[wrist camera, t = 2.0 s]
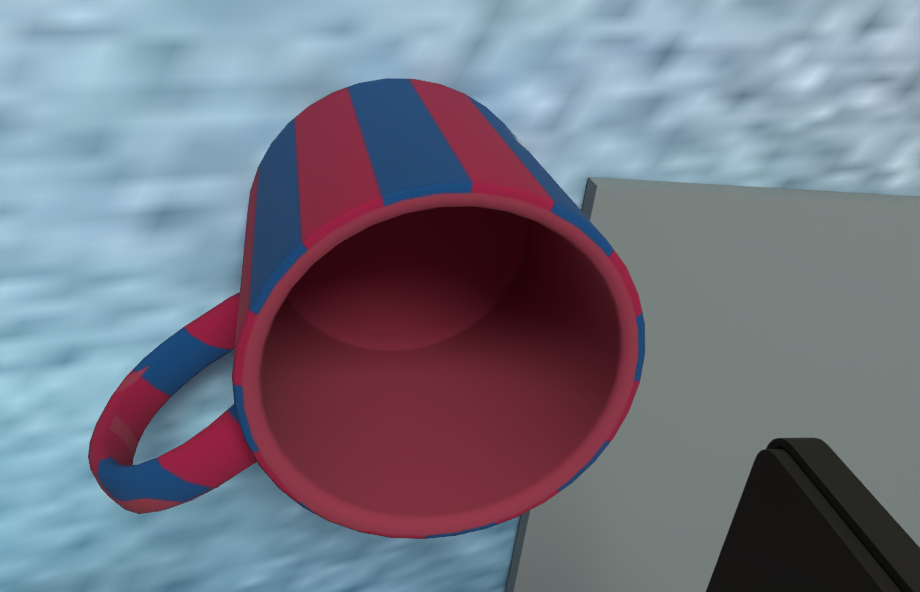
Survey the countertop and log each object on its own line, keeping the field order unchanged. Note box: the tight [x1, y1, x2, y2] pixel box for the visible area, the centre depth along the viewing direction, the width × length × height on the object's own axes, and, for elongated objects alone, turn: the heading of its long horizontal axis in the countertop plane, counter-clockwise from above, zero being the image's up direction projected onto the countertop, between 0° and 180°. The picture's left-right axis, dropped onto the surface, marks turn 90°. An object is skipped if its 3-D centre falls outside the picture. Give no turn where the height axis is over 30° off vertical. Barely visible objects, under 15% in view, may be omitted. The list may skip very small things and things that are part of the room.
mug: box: [88, 79, 645, 539], centre depth 16 cm, size 7×10×7 cm
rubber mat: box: [506, 177, 920, 592], centre depth 25 cm, size 20×14×1 cm
